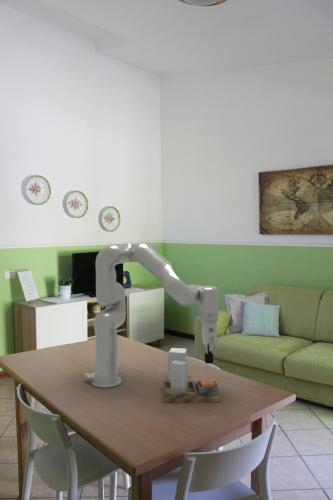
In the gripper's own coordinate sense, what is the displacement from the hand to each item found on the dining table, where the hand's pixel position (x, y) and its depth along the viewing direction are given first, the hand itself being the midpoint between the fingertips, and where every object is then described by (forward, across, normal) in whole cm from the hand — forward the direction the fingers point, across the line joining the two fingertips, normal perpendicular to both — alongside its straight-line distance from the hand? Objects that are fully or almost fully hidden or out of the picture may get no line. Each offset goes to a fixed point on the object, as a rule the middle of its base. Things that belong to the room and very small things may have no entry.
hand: (208, 362), depth 173 cm
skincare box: (+12, 0, +12) cm, 17 cm away
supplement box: (+13, +20, +11) cm, 27 cm away
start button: (+10, 0, +1) cm, 10 cm away
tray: (+13, 0, +8) cm, 15 cm away
